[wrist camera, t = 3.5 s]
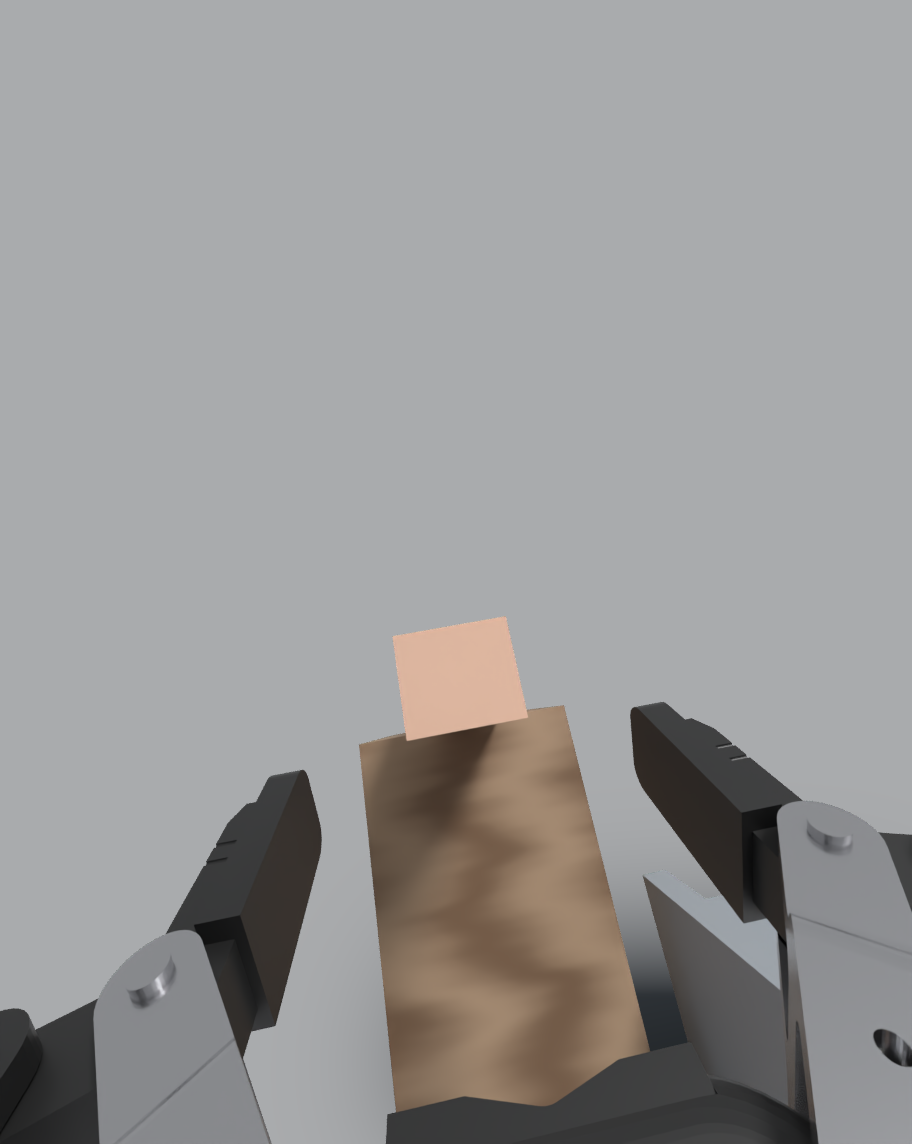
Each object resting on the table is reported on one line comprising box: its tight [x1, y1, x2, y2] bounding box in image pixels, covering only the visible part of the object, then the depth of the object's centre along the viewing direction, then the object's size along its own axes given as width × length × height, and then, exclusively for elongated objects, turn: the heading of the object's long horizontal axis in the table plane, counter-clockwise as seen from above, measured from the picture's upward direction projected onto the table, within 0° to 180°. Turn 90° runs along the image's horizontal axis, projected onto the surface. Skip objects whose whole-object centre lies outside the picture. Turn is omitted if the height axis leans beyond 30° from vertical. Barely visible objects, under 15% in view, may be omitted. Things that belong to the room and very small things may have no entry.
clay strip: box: [393, 616, 528, 741], centre depth 24 cm, size 4×24×3 cm, turn 0°
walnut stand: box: [359, 706, 650, 1112], centre depth 21 cm, size 10×12×32 cm
